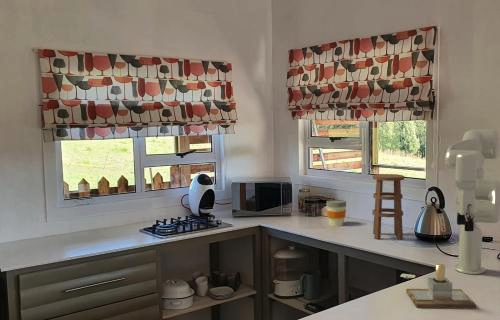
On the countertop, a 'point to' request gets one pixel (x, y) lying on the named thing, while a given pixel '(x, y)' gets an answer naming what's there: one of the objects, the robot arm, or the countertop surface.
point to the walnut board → (441, 301)
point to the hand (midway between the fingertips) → (465, 227)
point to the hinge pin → (440, 273)
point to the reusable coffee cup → (336, 212)
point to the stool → (397, 208)
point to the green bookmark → (407, 276)
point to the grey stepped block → (439, 292)
